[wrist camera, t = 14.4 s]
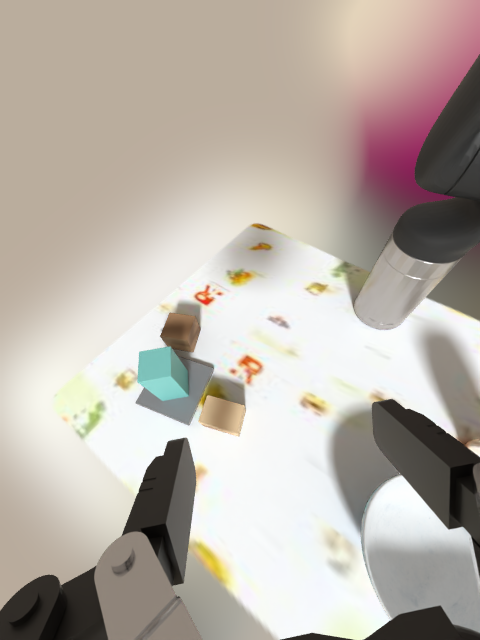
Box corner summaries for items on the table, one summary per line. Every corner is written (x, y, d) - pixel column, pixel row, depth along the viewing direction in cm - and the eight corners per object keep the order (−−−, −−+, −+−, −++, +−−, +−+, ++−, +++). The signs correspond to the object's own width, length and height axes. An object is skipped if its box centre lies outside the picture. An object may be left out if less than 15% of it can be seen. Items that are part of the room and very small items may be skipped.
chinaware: (320, 552, 31) (337, 573, 24) (373, 448, 37) (398, 442, 30) (452, 681, 25) (519, 753, 19) (491, 534, 31) (553, 550, 24)
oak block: (203, 425, 40) (198, 421, 37) (211, 401, 42) (207, 395, 39) (239, 436, 39) (237, 433, 35) (245, 411, 41) (244, 405, 37)
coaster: (166, 353, 47) (164, 351, 47) (213, 369, 45) (213, 368, 44) (137, 404, 42) (135, 403, 42) (189, 425, 40) (187, 424, 39)
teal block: (162, 375, 44) (139, 351, 36) (187, 371, 44) (170, 346, 36) (162, 401, 42) (137, 382, 33) (189, 396, 42) (170, 376, 33)
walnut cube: (177, 326, 50) (169, 312, 46) (200, 329, 50) (195, 316, 45) (169, 348, 48) (160, 336, 44) (193, 352, 47) (186, 340, 43)
